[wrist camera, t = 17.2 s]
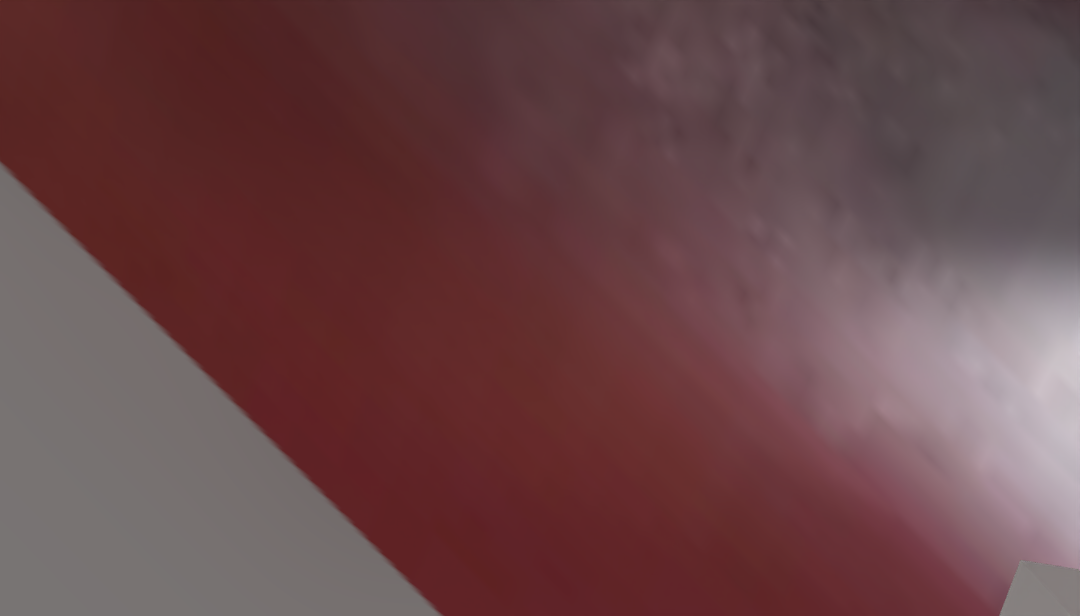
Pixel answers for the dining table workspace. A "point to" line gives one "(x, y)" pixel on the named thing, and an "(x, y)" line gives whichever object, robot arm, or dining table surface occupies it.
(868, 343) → the dining table surface
